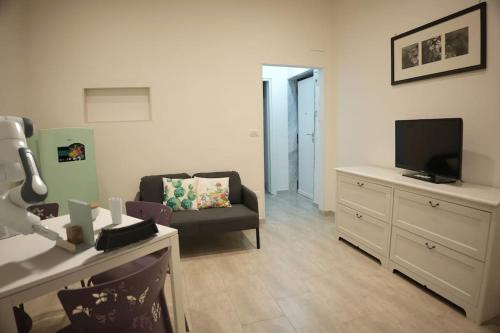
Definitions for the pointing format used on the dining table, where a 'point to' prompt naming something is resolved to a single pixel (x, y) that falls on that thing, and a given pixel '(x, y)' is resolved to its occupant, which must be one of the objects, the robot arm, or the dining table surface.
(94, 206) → the lidded bowl
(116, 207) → the drinking glass
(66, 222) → the dining table surface
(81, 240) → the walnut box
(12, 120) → the robot arm
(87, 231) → the wall board
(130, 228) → the magazine
